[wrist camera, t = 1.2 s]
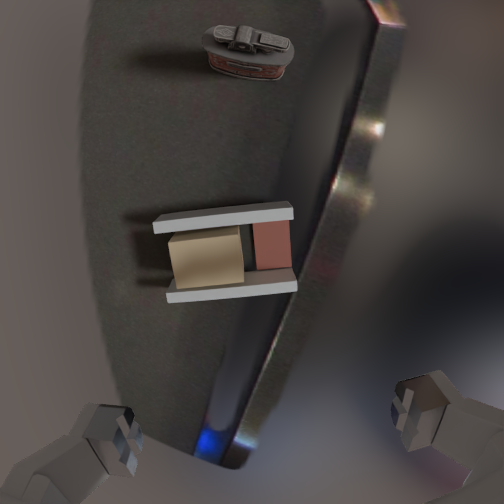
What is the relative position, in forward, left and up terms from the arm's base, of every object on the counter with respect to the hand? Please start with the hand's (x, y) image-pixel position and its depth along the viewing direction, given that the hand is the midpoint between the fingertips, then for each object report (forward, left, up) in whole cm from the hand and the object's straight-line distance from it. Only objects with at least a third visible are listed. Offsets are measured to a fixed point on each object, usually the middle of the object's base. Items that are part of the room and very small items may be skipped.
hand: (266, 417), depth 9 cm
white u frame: (+3, -2, -28) cm, 29 cm away
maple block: (+3, -4, -29) cm, 29 cm away
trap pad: (+3, +3, -28) cm, 29 cm away
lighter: (-17, +2, -29) cm, 33 cm away
